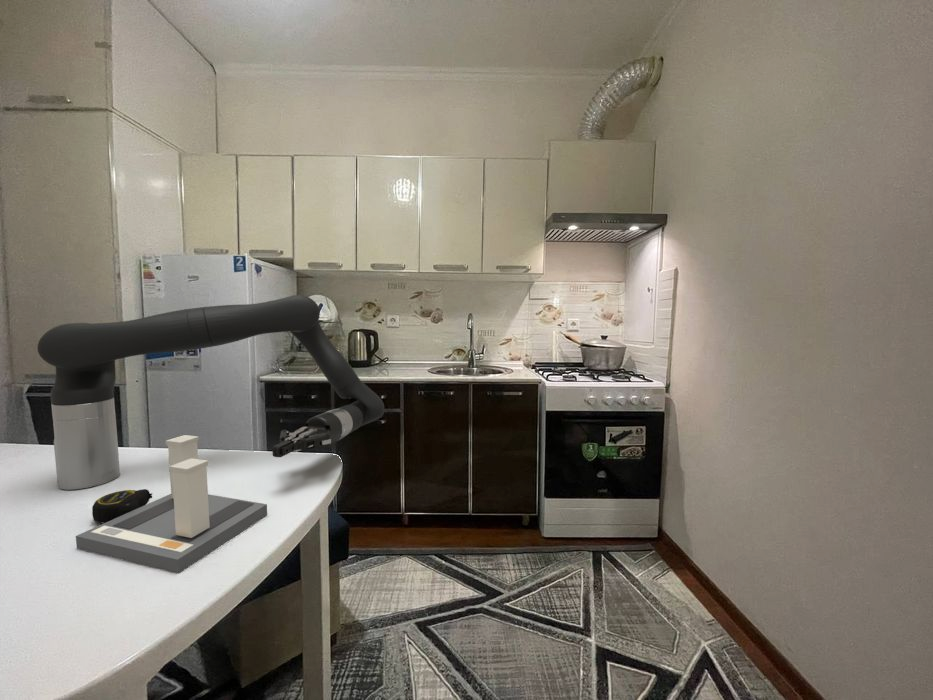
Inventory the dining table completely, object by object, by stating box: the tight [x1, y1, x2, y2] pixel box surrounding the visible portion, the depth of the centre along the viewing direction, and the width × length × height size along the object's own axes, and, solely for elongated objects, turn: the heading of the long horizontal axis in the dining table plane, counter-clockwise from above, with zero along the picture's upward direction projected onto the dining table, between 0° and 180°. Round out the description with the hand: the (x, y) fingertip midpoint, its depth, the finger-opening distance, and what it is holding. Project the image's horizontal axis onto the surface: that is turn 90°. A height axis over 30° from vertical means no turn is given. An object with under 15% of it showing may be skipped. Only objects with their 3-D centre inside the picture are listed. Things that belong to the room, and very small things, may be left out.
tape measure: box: [91, 488, 153, 524], centre depth 67 cm, size 7×7×4 cm
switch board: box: [75, 493, 268, 574], centre depth 63 cm, size 20×16×2 cm
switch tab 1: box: [165, 434, 200, 499], centre depth 70 cm, size 3×3×11 cm
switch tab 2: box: [168, 458, 210, 538], centre depth 58 cm, size 3×3×11 cm
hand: (275, 452), depth 75 cm, fingers closed
